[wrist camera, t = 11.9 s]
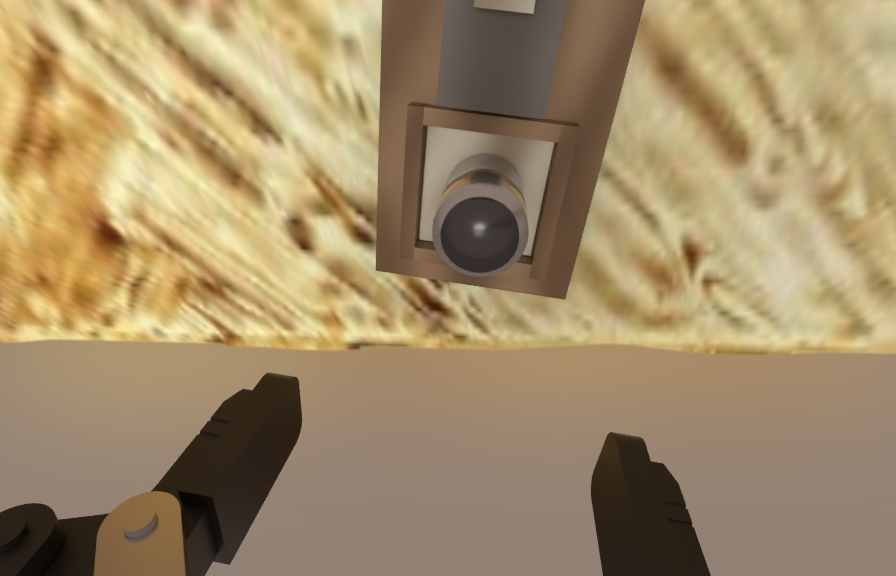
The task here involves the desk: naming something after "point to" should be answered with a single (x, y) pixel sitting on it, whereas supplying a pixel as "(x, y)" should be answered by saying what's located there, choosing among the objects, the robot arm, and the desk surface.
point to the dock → (497, 121)
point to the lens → (481, 217)
